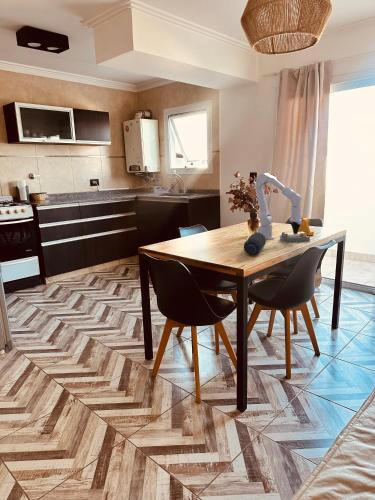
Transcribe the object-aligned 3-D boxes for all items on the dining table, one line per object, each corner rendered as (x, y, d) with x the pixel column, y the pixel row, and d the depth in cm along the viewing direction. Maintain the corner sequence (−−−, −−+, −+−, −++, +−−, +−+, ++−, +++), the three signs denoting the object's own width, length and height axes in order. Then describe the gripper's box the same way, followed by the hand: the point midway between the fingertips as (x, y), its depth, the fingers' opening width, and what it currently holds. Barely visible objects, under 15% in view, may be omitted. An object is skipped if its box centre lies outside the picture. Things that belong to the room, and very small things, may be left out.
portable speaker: (250, 246, 216) (250, 231, 214) (266, 247, 213) (267, 231, 210) (242, 257, 193) (242, 239, 191) (260, 258, 190) (260, 240, 187)
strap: (284, 237, 224) (284, 235, 224) (282, 236, 227) (282, 234, 227) (304, 234, 226) (304, 232, 225) (302, 233, 228) (302, 231, 228)
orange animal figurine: (314, 235, 241) (315, 218, 239) (308, 236, 237) (309, 219, 234) (300, 233, 250) (301, 216, 247) (295, 234, 245) (295, 218, 242)
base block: (286, 242, 222) (286, 234, 220) (280, 239, 231) (280, 231, 230) (309, 241, 223) (310, 233, 222) (302, 238, 233) (303, 230, 232)
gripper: (306, 213, 216) (306, 235, 219) (296, 211, 230) (296, 231, 233) (296, 214, 216) (295, 235, 219) (286, 211, 230) (286, 231, 233)
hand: (295, 233), depth 226 cm, fingers closed, pressing on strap
